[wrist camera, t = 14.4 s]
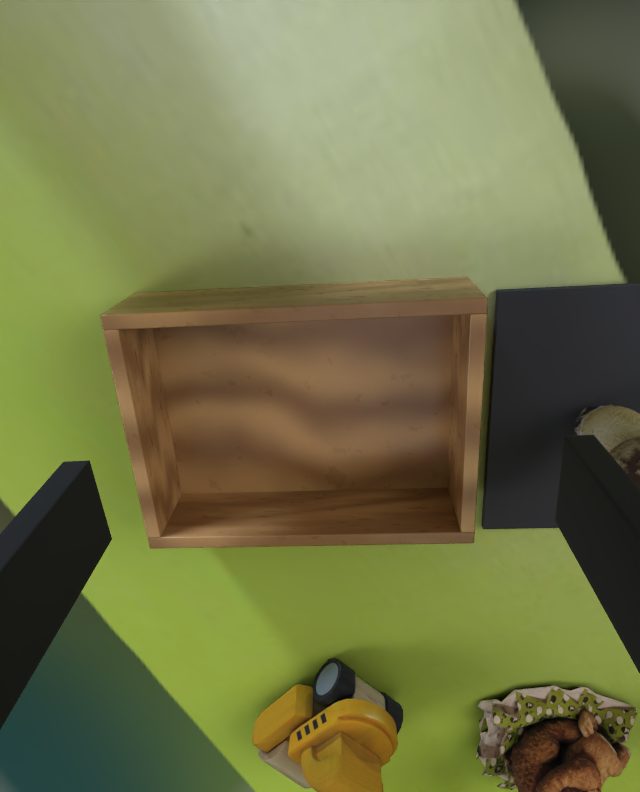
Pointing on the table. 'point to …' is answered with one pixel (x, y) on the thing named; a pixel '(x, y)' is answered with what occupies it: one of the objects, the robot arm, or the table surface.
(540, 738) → the bear figurine
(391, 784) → the table surface
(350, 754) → the toy roller
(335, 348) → the crate
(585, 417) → the mushroom
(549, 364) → the mat
